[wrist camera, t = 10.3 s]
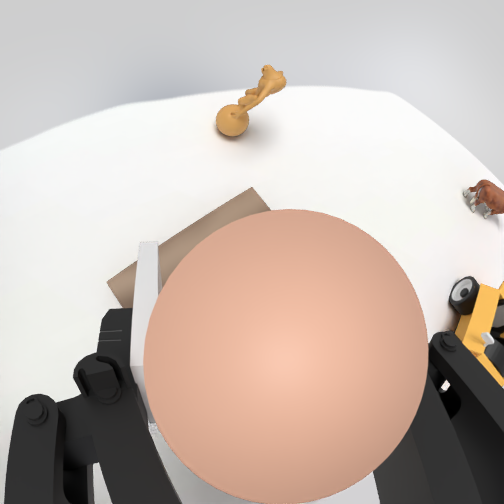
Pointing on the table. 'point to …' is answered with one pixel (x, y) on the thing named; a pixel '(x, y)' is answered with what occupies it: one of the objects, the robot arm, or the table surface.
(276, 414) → the pink rounded cylinder
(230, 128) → the figurine
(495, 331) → the race car
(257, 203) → the jig board
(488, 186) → the bull figurine
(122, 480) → the robot arm
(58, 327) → the table surface
